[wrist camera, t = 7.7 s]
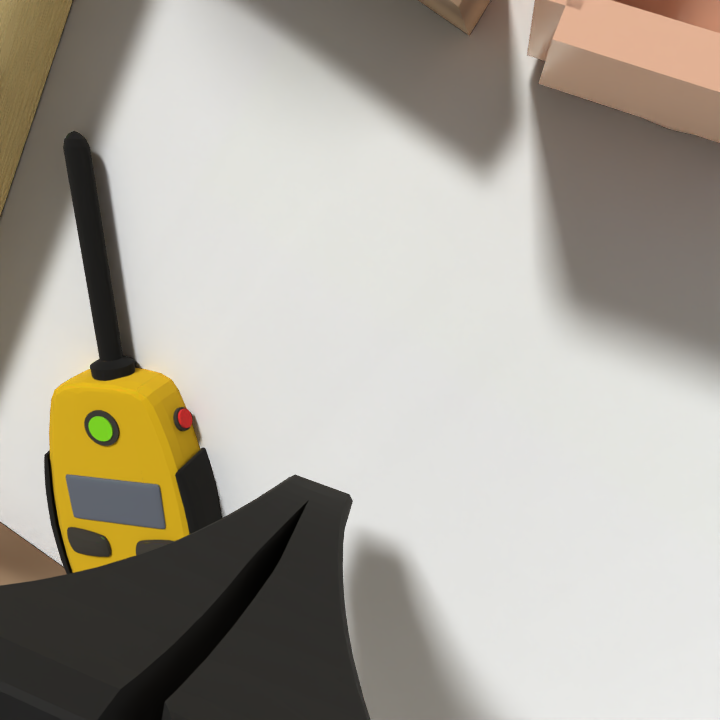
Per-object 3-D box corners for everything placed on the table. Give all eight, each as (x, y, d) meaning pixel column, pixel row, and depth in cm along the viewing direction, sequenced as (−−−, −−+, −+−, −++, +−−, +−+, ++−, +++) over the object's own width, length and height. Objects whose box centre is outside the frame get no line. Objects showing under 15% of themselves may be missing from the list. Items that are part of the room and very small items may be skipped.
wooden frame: (506, -26, 11) (504, -72, 9) (105, 628, 20) (52, 691, 17) (53, -337, 11) (-63, -460, 9) (-153, 444, 20) (-240, 481, 18)
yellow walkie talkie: (68, 657, 18) (-54, 133, 13) (107, 612, 20) (11, 135, 15) (213, 685, 17) (137, 124, 12) (241, 635, 19) (184, 128, 14)
